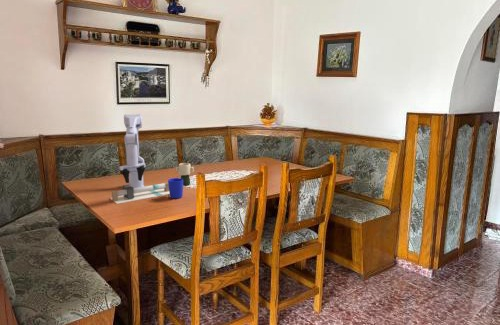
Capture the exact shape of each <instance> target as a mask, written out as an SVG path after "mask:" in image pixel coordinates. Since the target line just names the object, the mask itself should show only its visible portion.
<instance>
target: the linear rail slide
mask: <svg viewBox="0 0 500 325" xmlns="http://www.w3.org/2000/svg"><path fill="white" fill-rule="evenodd" d="M144 186H145V187H138V188H133V189H134V198H132V199H128V198H126V197H125V196H124V195H127V189H126V190H123V189H121V190H111V197H109V199H110V200H111V201H112V202H114V203H115V204H116V205H118V204H124V203H129V202H135V201H141V200H145V199H151V198H156V197H157V198H158V197H162V196H168V195H169V196H170V193H169V185H168V181H167V182H163V183H157V184H152V185H144Z"/></svg>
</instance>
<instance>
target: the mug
mask: <svg viewBox="0 0 500 325" xmlns="http://www.w3.org/2000/svg"><path fill="white" fill-rule="evenodd" d="M167 182H168V185H169V193H170V194H169V196H170V198H171V199H176V200H177V199H181V198H182V197H183V193H184V185H183V179H181V177H174V178H173V177H172V178H169V179H168V180H167Z"/></svg>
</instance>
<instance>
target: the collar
mask: <svg viewBox="0 0 500 325" xmlns="http://www.w3.org/2000/svg"><path fill="white" fill-rule="evenodd" d="M126 189H127V195H123V196H125V197H126V198H128V199H132V198H134V194H135V193H134V189H133V187H132V186H130V185H129V184H123V185H122V190H126Z"/></svg>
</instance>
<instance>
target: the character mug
mask: <svg viewBox="0 0 500 325" xmlns="http://www.w3.org/2000/svg"><path fill="white" fill-rule="evenodd" d="M175 171H176V173H178V174H179V175H180V178H181V179H183V186H187V185H191V178H190V174H191V173H194V172H195V167H194V166H191V163H188V162H181V163H179V164H178V166H176V167H175Z"/></svg>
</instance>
